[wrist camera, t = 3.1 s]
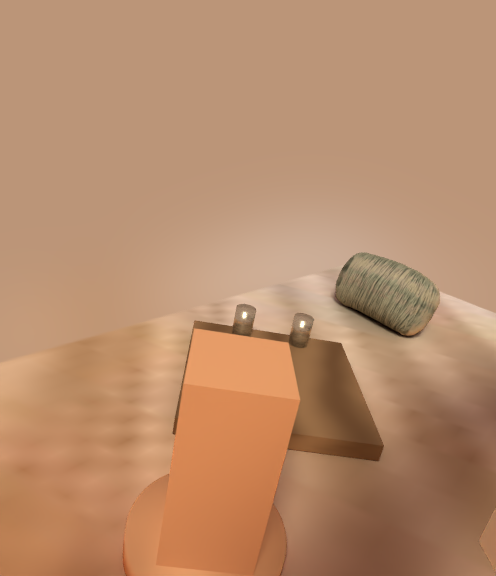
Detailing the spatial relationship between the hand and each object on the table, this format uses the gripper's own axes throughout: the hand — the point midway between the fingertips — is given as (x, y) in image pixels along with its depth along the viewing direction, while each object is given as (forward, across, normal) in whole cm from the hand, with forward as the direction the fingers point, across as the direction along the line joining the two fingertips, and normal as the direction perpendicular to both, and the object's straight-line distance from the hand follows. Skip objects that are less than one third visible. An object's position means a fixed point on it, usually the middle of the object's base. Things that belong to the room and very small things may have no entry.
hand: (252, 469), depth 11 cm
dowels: (+34, +5, -14) cm, 37 cm away
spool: (+47, +22, -15) cm, 54 cm away
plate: (+27, +6, -15) cm, 32 cm away
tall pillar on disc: (+10, 0, -15) cm, 18 cm away
